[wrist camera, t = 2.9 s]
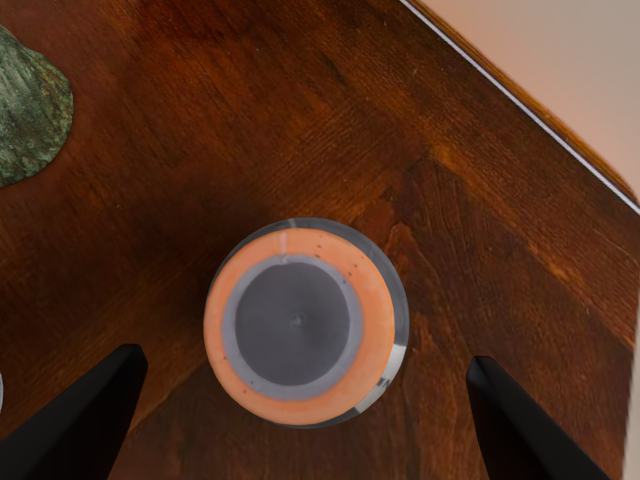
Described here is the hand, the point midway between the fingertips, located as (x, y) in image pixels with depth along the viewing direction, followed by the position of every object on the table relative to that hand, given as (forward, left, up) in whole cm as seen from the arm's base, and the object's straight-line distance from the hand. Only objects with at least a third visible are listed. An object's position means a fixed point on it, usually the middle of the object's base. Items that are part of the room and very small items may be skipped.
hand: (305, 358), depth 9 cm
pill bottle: (+1, 0, -9) cm, 9 cm away
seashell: (+9, +21, -9) cm, 25 cm away
